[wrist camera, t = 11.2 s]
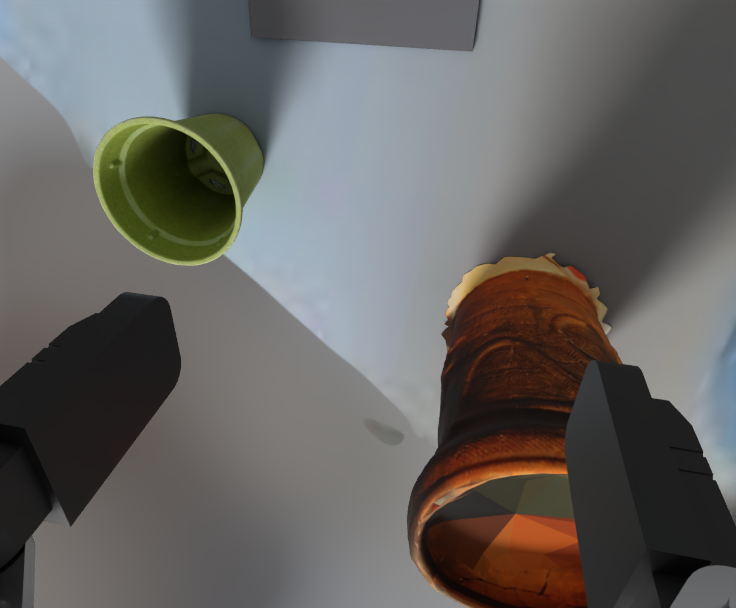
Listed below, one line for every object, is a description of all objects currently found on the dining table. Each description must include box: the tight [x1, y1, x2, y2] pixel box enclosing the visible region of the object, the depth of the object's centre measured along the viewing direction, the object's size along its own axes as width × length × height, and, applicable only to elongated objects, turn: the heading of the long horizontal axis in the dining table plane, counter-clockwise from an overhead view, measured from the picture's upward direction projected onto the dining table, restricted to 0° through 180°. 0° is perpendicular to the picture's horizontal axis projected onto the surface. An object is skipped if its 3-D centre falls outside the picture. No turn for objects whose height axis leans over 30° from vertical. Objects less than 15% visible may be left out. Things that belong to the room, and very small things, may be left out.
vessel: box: [407, 252, 623, 608], centre depth 34 cm, size 14×14×20 cm
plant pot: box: [93, 113, 263, 265], centre depth 35 cm, size 9×9×9 cm
